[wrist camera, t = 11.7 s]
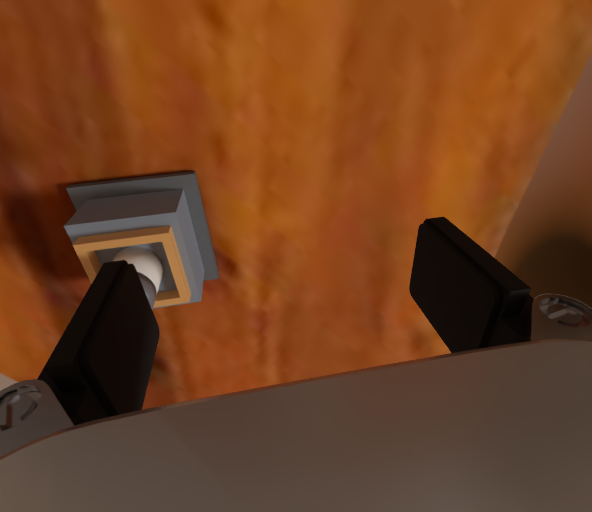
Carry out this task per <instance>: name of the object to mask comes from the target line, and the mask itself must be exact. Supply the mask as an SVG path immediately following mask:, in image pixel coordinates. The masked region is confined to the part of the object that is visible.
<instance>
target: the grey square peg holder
mask: <svg viewBox="0 0 592 512" xmlns="http://www.w3.org/2000/svg"><path fill="white" fill-rule="evenodd" d="M66 190H67V192H68V194H69V196H70V198H71V201H72V203H73V205H74V207H75V209H76V213H75V214H74V215H73V216H72V217H71V218H70V219H69V221H68V222H67V223H66V224H65V225H64V228H65V230H66V232H67V234H68V236H69V238H70V240H71V242H72V244H73V247H74V249H75V251H76V253H77V255H78V257H79V259H80V261H81V263H82V265H83V267H84V270H85V272H86V274H87V276H88V278H89V280H90V282H91V284H92V282H93V281H94V279H95V277H96V275H97V274H98V272H99V270H100V268H101V267H102V265H103V264H104V263H105V262H112V260H113V258H114V256H115V255H116V254H117V253H118V252H119V251H120V250H122V249H124V248H127V247H134V246H136V247H143V248H147V249H149V250H151V251H153V252H154V253H156V254H157V255H158V256H159V257H160V259H161V261H162V263H163V266H164V271H163V275H162V278H161V282H160V285H159V289H158V292H157V296H156V299H155V303H154V306H153V308H160V307H167V306H173V305H180V304H186V303H193V302H200V301H201V297H202V288H203V281H205V280H212V279H219V273H218V268H217V264H216V260H215V255H214V251H213V247H212V242H211V238H210V234H209V229H208V225H207V221H206V216H205V212H204V208H203V203H202V199H201V195H200V190H199V186H198V182H197V177H196V173H195V171H190V172H181V173H172V174H163V175H154V176H145V177H136V178H127V179H118V180H109V181H100V182H91V183H82V184H73V185H69V186H68V187H67V188H66Z"/></svg>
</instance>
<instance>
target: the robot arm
mask: <svg viewBox="0 0 592 512" xmlns="http://www.w3.org/2000/svg"><path fill="white" fill-rule="evenodd" d="M530 289H531V288H530V287H529V286H528V285H526V284H525V283H524V282H523V281H521V280H520V279H519V278H518V277H517V276H515V275H514V274H513V273H512V272H511V271H509V270H508V269H507V268H506V267H505V266H503V265H502V264H501V263H500V262H498V261H497V260H496V259H495V258H494V257H492V256H491V255H490V254H489V253H488V252H486V251H485V250H484V249H483V248H481V247H480V246H479V245H478V244H477V243H475V242H474V241H473V240H472V239H471V238H469V237H468V236H467V235H466V234H464V233H463V232H462V231H461V230H460V229H458V228H457V227H456V226H455V225H454V224H452V223H451V222H450V221H449V220H447V219H446V218H445V217H438V218H430V219H426V220H425V221H424V223H423V224H421V225H420V226H419V229H418V236H417V242H416V248H415V255H414V261H413V267H412V274H411V280H410V294H411V296H412V298H413V299H414V300H415V302H416V303H417V305H418V306H419V308H420V309H421V310H422V312H423V313H424V315H425V316H426V317H427V319H428V320H429V322H430V323H431V324H432V326H433V327H434V329H435V330H436V332H437V333H438V334H439V336H440V337H441V339H442V340H443V341H444V343H445V344H446V346H447V347H448V348H449V350H450V351H451V353H450V354H445V355H439V356H433V357H427V358H422V359H416V360H410V361H404V362H399V363H393V364H387V365H382V366H376V367H370V368H365V369H359V370H354V371H348V372H342V373H337V374H331V375H326V376H320V377H315V378H309V379H304V380H298V381H293V382H287V383H282V384H276V385H271V386H265V387H260V388H254V389H249V390H244V391H238V392H233V393H228V394H222V395H217V396H211V397H206V398H201V399H195V400H190V401H185V402H179V403H174V404H169V405H164V406H159V407H154V408H149V409H144V410H142V406H143V402H144V398H145V394H146V390H147V386H148V381H149V377H150V373H151V369H152V365H153V361H154V356H155V352H156V348H157V344H158V340H159V327H158V324H157V321H156V319H155V316H154V314H153V311H152V309H151V306H150V303H149V301H148V298H147V296H146V293H145V291H144V288H143V286H142V283H141V281H140V278H139V276H138V273H137V270H136V268H135V266H134V265H133V264H128V262H127V261H126V260H120V261H112V262H105V263H104V264H103V265H102V267H101V268H100V270H99V272H98V274H97V275H96V277H95V279H94V281H93V282H92V284H91V286H90V288H89V290H88V291H87V293H86V295H85V297H84V298H83V300H82V302H81V304H80V305H79V307H78V309H77V311H76V312H75V314H74V316H73V318H72V319H71V321H70V323H69V325H68V326H67V328H66V330H65V332H64V333H63V335H62V337H61V339H60V340H59V342H58V344H57V346H56V347H55V349H54V351H53V353H52V354H51V356H50V358H49V360H48V361H47V363H46V365H45V367H44V368H43V370H42V372H41V374H40V375H39V377H38V379H33V380H25V381H22V382H19V383H15V384H13V385H11V386H9V387H7V388H5V389H3V390H1V391H0V512H592V309H591V308H590V307H588V306H587V305H585V304H584V303H582V302H580V301H578V300H576V299H573V298H570V297H567V296H563V295H557V294H544V295H539V296H537V297H536V298H534V299H533V298H532V297H531V296H530V295H529V292H530Z"/></svg>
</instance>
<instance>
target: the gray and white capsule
mask: <svg viewBox="0 0 592 512" xmlns="http://www.w3.org/2000/svg"><path fill="white" fill-rule="evenodd" d="M120 260H126V261H127V262H128V264H133V265H134V266H135V268H136V270H137V273H138V276H139V278H140V281H141V283H142V286H143V288H144V291H145V293H146V296H147V298H148V301H149V303H150V306H151V309H153V306H154V303H155V299H156V296H157V292H158V289H159V285H160V282H161V278H162V275H163V271H164V266H163V263H162V261H161V259H160V257H159V256H158V255H157V254H156V253H154V252H153V251H151V250H149V249H147V248H143V247H136V246H134V247H127V248H124V249H122V250H120V251H119V252H118V253H117V254H116V255H115V256H114V258H113V260H112V261H120Z"/></svg>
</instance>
